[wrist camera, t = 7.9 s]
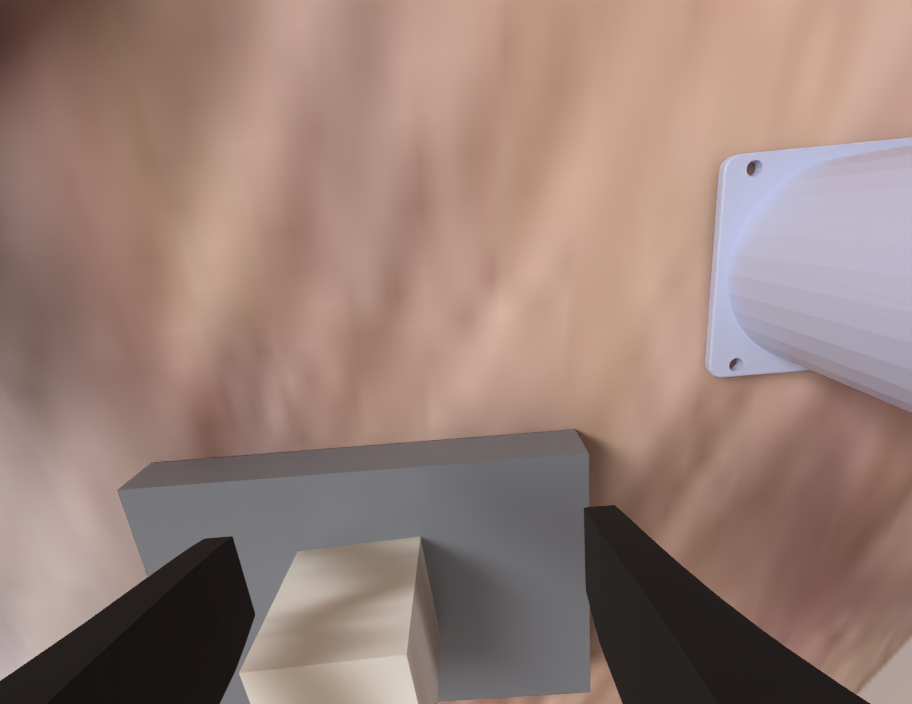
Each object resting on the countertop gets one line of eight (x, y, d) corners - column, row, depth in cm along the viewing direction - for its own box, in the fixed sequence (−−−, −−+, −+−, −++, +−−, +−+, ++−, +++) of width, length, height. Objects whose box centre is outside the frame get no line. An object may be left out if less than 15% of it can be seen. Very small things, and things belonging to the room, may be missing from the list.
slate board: (575, 429, 18) (588, 453, 17) (578, 650, 22) (590, 692, 20) (151, 462, 19) (117, 490, 17) (219, 674, 22) (196, 716, 21)
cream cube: (420, 536, 18) (406, 654, 13) (440, 633, 19) (434, 772, 14) (297, 551, 18) (238, 673, 13) (325, 646, 19) (282, 787, 14)
